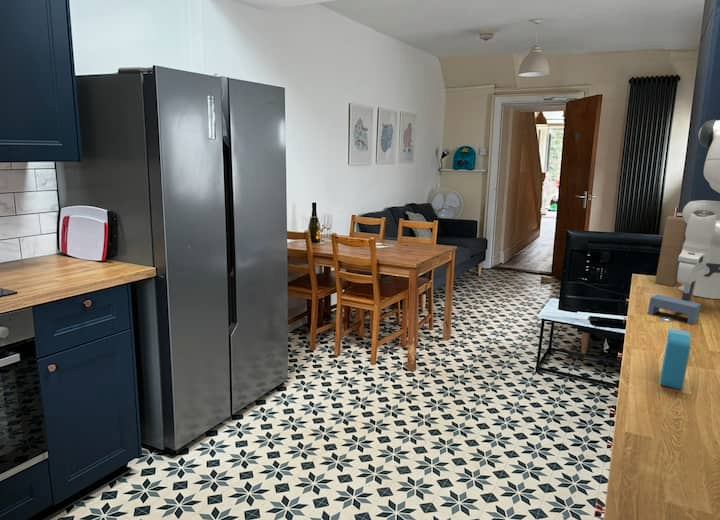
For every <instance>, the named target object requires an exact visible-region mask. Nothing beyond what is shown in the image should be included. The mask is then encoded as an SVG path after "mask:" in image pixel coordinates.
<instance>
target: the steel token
mask: <svg viewBox="0 0 720 520" xmlns="http://www.w3.org/2000/svg"><path fill="white" fill-rule="evenodd" d="M659 320H660V321H661V322H664V321H665V322H666V323H670V322H672V323H674V319H673V318H671V317H667V316H660V317H659Z"/></svg>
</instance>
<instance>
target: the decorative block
mask: <svg viewBox="0 0 720 520" xmlns="http://www.w3.org/2000/svg"><path fill="white" fill-rule="evenodd" d="M686 226H687V224H686V222H685V221H684V219H683V216H672V215H668V216H667V217H666V219H665V226H664V231H663V236H662V242H661V248H660V253H659V259H658V263H657V264H658V265H657V269H656V276H655V280H654V284H656V283H657V285H661V284H662V285H663V286H667V285H669V286H668V287H675V285H676V284H677V282H678V279H677V276H678V267H679V263H680V261H678V258H679V255H680V254H681V252H682V249H683V244H684V242H685V238H686V236H685V231H686ZM662 285H661V286H662Z"/></svg>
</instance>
